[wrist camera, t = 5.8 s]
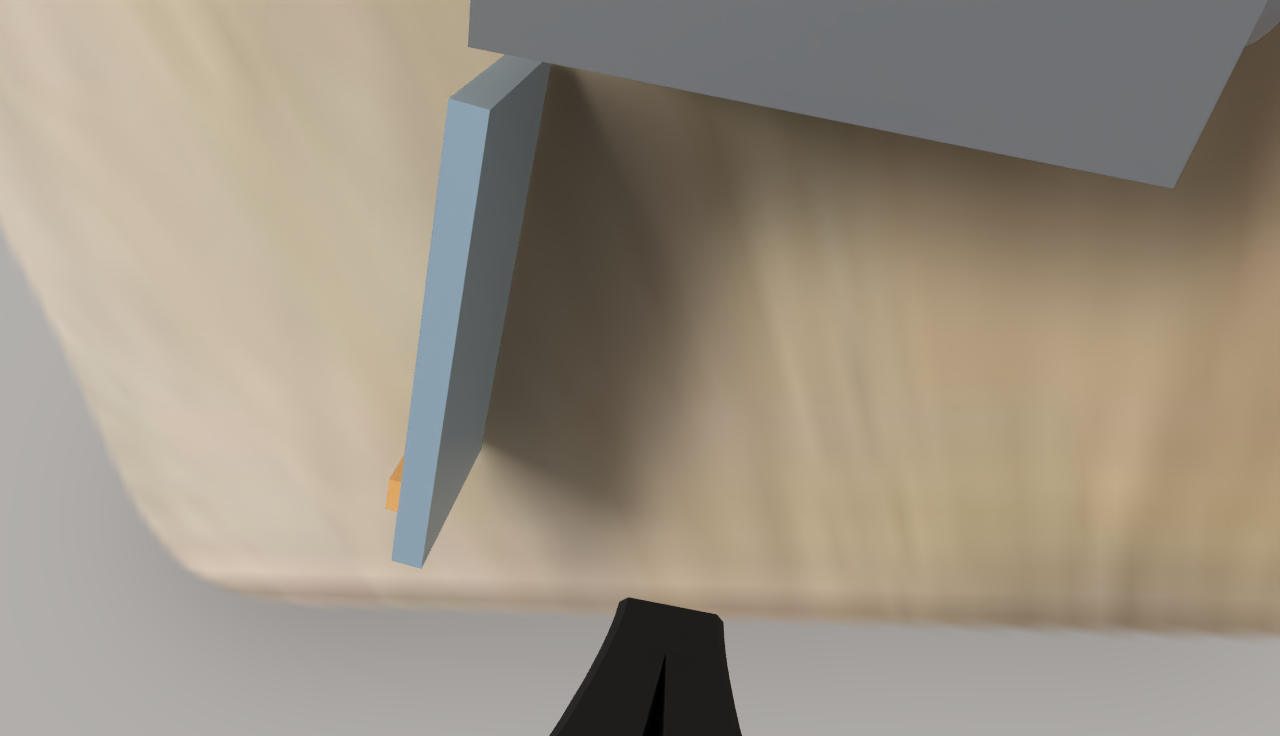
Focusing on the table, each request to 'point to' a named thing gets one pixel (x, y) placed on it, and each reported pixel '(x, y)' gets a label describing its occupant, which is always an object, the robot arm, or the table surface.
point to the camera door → (466, 292)
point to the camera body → (925, 65)
